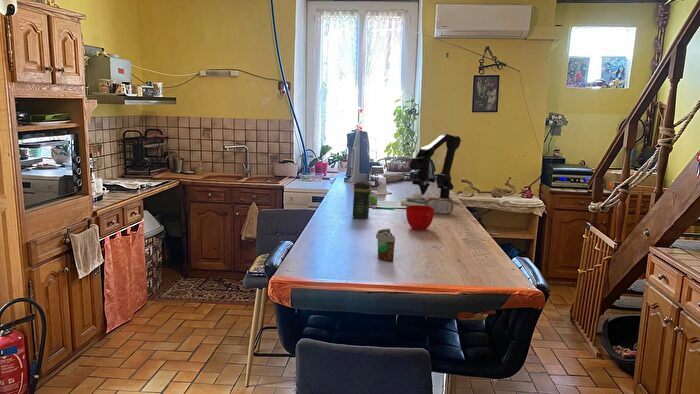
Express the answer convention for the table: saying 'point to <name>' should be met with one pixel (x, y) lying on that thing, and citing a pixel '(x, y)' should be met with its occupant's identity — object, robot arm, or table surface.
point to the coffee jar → (361, 199)
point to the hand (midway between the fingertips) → (422, 195)
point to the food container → (385, 245)
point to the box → (409, 203)
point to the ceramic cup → (419, 216)
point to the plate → (416, 199)
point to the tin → (440, 205)
